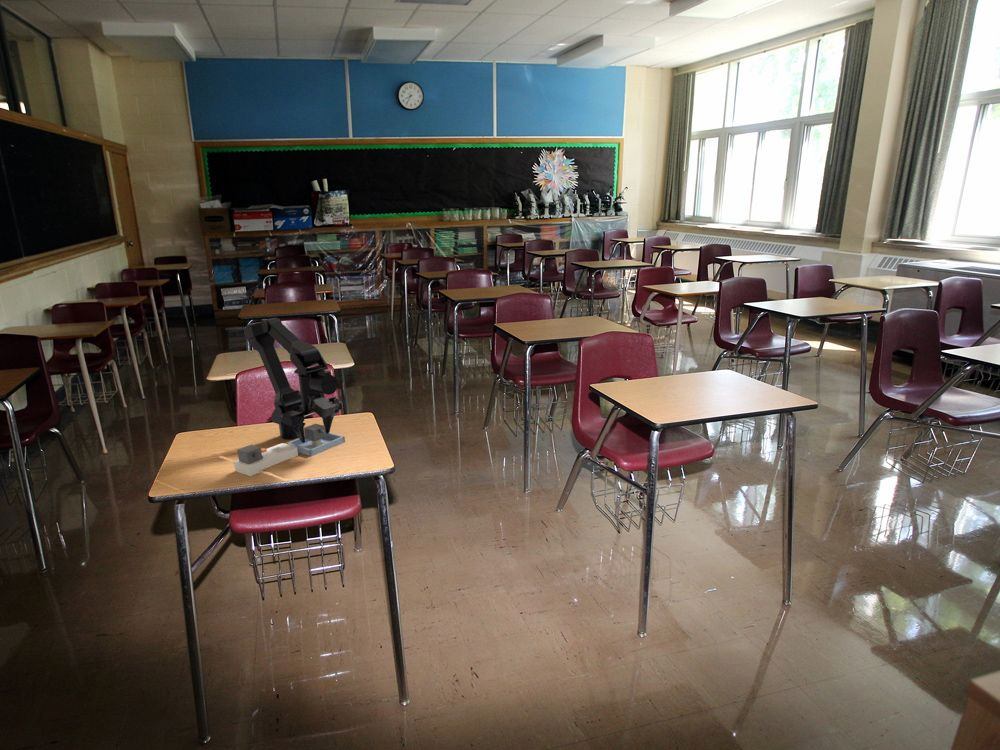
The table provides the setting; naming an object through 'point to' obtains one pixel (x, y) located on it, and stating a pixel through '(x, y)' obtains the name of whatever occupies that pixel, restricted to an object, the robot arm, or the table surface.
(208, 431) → the table surface
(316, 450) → the tray
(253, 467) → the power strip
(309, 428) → the grey block with knob
